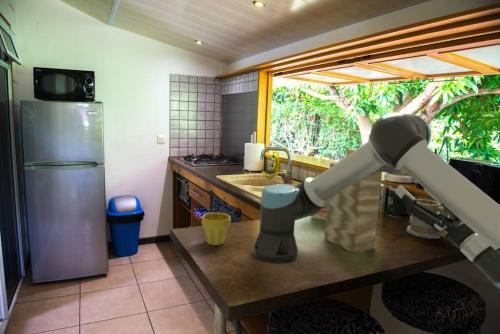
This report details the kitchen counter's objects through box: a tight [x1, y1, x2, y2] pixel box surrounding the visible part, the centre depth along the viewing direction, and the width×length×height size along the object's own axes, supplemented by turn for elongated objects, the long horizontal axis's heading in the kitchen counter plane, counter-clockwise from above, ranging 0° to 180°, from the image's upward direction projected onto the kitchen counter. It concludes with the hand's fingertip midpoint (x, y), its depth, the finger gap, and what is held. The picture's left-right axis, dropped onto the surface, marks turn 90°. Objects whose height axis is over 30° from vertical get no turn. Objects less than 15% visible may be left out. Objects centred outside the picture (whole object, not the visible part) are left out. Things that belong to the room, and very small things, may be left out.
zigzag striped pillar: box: [324, 162, 383, 254], centre depth 124 cm, size 16×10×30 cm, turn 28°
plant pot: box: [201, 212, 232, 246], centre depth 121 cm, size 10×10×10 cm
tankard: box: [406, 198, 448, 240], centre depth 138 cm, size 20×13×15 cm, turn 14°
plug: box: [345, 148, 402, 175], centre depth 115 cm, size 20×6×6 cm, turn 28°
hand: (412, 187), depth 102 cm, fingers open, 13 cm apart
